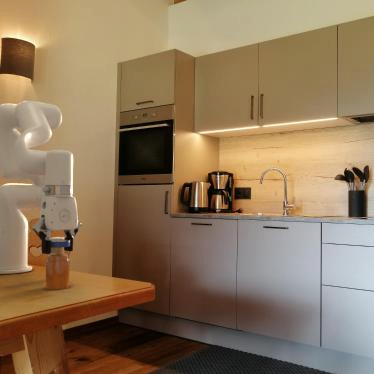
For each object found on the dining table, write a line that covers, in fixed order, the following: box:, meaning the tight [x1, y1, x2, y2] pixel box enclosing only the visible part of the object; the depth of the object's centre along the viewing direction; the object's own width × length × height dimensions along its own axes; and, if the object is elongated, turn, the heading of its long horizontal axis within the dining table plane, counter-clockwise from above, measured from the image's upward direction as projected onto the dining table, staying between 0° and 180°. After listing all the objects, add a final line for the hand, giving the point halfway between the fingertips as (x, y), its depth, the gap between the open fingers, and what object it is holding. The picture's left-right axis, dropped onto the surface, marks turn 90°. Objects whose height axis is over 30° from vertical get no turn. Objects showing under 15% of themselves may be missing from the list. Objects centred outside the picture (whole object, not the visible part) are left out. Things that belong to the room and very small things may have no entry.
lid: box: [49, 238, 71, 248], centre depth 124 cm, size 7×7×2 cm
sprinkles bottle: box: [49, 236, 66, 255], centre depth 138 cm, size 5×5×13 cm
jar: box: [45, 253, 71, 291], centre depth 124 cm, size 6×6×9 cm
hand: (57, 251), depth 124 cm, fingers closed on lid, 6 cm apart
